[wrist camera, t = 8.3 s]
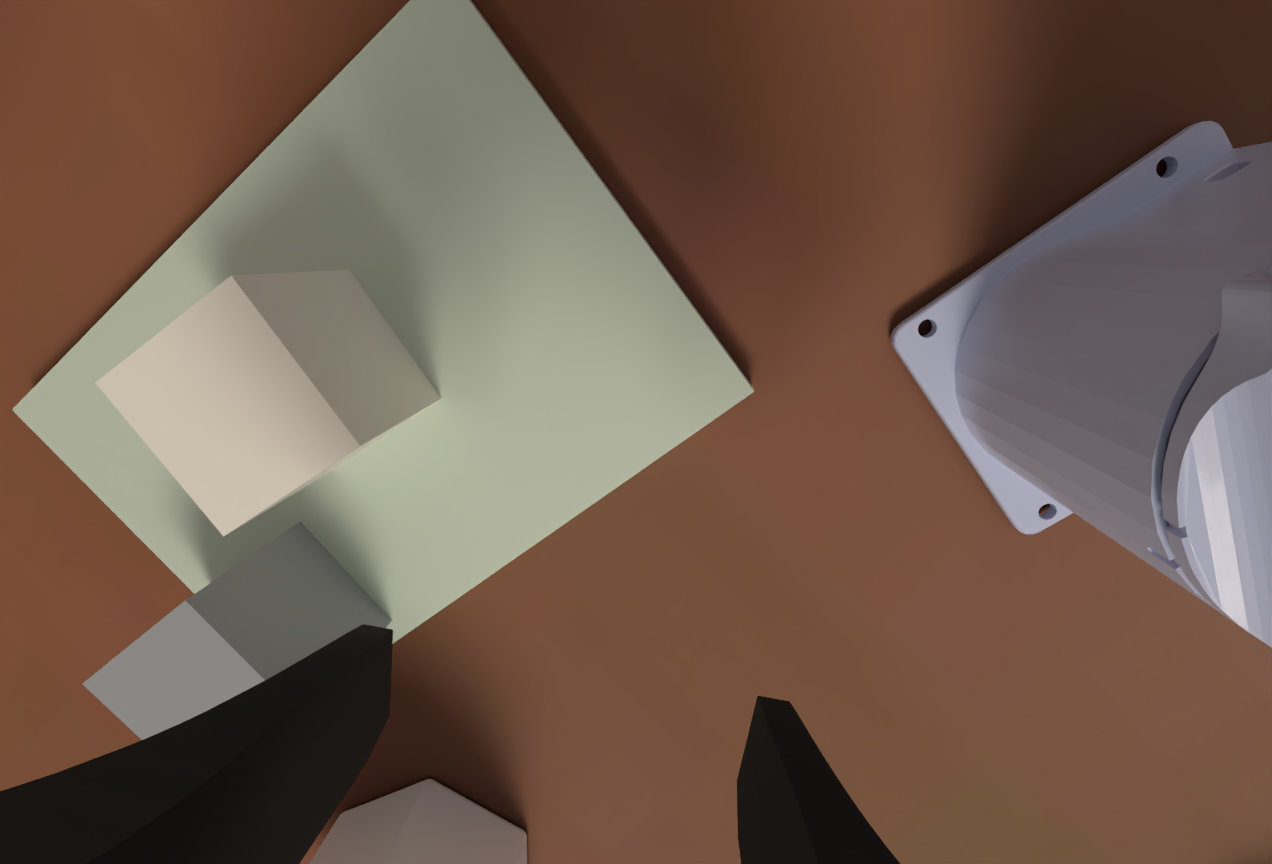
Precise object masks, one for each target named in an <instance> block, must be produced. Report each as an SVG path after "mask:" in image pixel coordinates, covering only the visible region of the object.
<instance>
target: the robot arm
mask: <svg viewBox="0 0 1272 864" xmlns="http://www.w3.org/2000/svg"><path fill="white" fill-rule="evenodd" d="M1161 159H1163V160H1164V161H1165V162H1166V165H1167V169H1166V172H1165V174H1164V175H1163V176H1162V177H1160V176H1159V175H1157V172H1156V167H1157V164H1158V162H1159V161H1160V160H1161ZM927 319H929V320H930V321H931V324H932V328H931V331H930V332H929V333H928V334H927V335H924V336H921V335H919V332H918V327H919V324H920V323H921V322H922V321H924V320H927ZM891 344H892V346H893V348H894V350H895V351H896V353H897V354H898V356H899V357H900V359H901V360H902V362H903V363H904V365H905V366H906V368H907V369H908V371H909V372H910V373H911V375H912V376H913V378H914V379H915V381H916V382H917V384H918V385H919V387H920V388H921V390H922V391H923V393H924V394H925V396H926V397H927V399H928V400H929V402H930V403H931V405H932V406H933V408H934V409H935V411H936V412H937V414H938V415H939V417H940V418H941V420H942V421H943V423H944V424H945V426H946V427H947V429H948V430H949V432H950V433H951V435H952V436H953V438H954V439H955V440H956V442H957V443H958V445H959V446H960V448H961V449H962V451H963V452H964V454H965V455H966V457H967V458H968V460H969V461H970V463H971V464H972V466H973V467H974V469H975V470H976V472H977V473H978V475H979V476H980V478H981V479H982V481H983V482H984V484H985V485H986V487H987V488H988V490H989V491H990V493H991V494H992V496H993V497H994V499H995V500H996V502H997V503H998V504H999V506H1000V507H1001V509H1002V510H1003V512H1004V513H1005V515H1006V516H1007V518H1008V519H1009V521H1010V522H1011V524H1012V525H1013V526H1014V527H1015V528H1016V529H1018V530H1019V531H1020V532H1021V533H1024V534H1035V533H1038V532H1040V531H1042V530H1044V529H1045V528H1047V527H1049V526H1051V525H1053V524H1054V523H1056V522H1058V521H1060V520H1061V519H1063V518H1065V517H1067V516H1069V515H1070V514H1072V513H1075V514H1076V515H1078V516H1079V517H1080V518H1082V519H1083V520H1085V521H1086V522H1088V523H1089V524H1091V525H1092V526H1094V527H1095V528H1097V529H1098V530H1100V531H1101V532H1103V533H1104V534H1105V535H1107V536H1108V537H1110V538H1111V539H1113V540H1114V541H1116V542H1117V543H1119V544H1120V545H1122V546H1123V547H1125V548H1126V549H1128V550H1129V551H1130V552H1132V553H1133V554H1135V555H1136V556H1138V557H1139V558H1141V559H1142V560H1144V561H1145V562H1147V563H1148V564H1150V565H1151V566H1153V567H1154V568H1155V569H1157V570H1158V571H1160V572H1161V573H1163V574H1164V575H1166V576H1167V577H1169V578H1170V579H1172V580H1173V581H1175V582H1176V583H1177V584H1179V585H1180V586H1182V587H1183V588H1185V589H1186V590H1188V591H1189V592H1191V593H1192V594H1194V595H1195V596H1197V597H1198V598H1200V599H1201V600H1202V601H1204V602H1205V603H1207V604H1208V605H1210V606H1211V607H1213V608H1214V609H1216V610H1217V611H1219V612H1220V613H1222V614H1223V615H1224V616H1226V617H1227V618H1229V619H1230V620H1232V621H1233V622H1235V623H1236V624H1237V625H1239V626H1240V627H1242V628H1243V629H1245V630H1246V631H1248V632H1249V633H1251V634H1252V635H1254V636H1255V637H1257V638H1258V639H1260V640H1261V641H1263V642H1264V643H1266V644H1267V645H1269V646H1270V647H1271V648H1272V142H1267V143H1262V144H1256V145H1251V146H1246V147H1241V148H1235V149H1233V147H1232V145H1231V143H1230V141H1229V139H1228V137H1227V135H1226V133H1225V132H1224V130H1223V128H1222V127H1221V126H1220V125H1219V124H1218V123H1216V122H1213V121H1203V122H1199V123H1195V124H1193V125H1190V126H1188V127H1186V128H1185V129H1183V130H1182V131H1180V132H1179V133H1177V134H1176V135H1174V136H1173V137H1171V138H1170V139H1169V140H1167V141H1166V142H1164V143H1163V144H1161V145H1160V146H1158V147H1157V148H1155V149H1154V150H1152V151H1151V152H1150V153H1148V154H1147V155H1145V156H1144V157H1142V158H1141V159H1139V160H1138V161H1136V162H1135V163H1133V164H1132V165H1131V166H1129V167H1128V168H1126V169H1125V170H1123V171H1122V172H1120V173H1119V174H1117V175H1116V176H1114V177H1113V178H1112V179H1110V180H1109V181H1107V182H1106V183H1104V184H1103V185H1101V186H1100V187H1098V188H1097V189H1095V190H1094V191H1092V192H1091V193H1090V194H1088V195H1087V196H1085V197H1084V198H1082V199H1081V200H1079V201H1078V202H1076V203H1075V204H1073V205H1072V206H1071V207H1069V208H1068V209H1066V210H1065V211H1063V212H1062V213H1060V214H1059V215H1057V216H1056V217H1054V218H1053V219H1052V220H1050V221H1049V222H1047V223H1046V224H1044V225H1043V226H1041V227H1040V228H1038V229H1037V230H1035V231H1034V232H1033V233H1031V234H1030V235H1028V236H1027V237H1025V238H1024V239H1022V240H1021V241H1019V242H1018V243H1016V244H1015V245H1013V246H1012V247H1011V248H1009V249H1008V250H1006V251H1005V252H1003V253H1002V254H1000V255H999V256H997V257H996V258H994V259H993V260H992V261H990V262H989V263H987V264H986V265H984V266H983V267H981V268H980V269H978V270H977V271H975V272H974V273H973V274H971V275H970V276H968V277H967V278H965V279H964V280H962V281H961V282H959V283H958V284H956V285H955V286H954V287H952V288H951V289H949V290H948V291H946V292H945V293H943V294H942V295H940V296H939V297H937V298H936V299H935V300H933V301H932V302H930V303H929V304H927V305H926V306H924V307H923V308H921V309H920V310H918V311H917V312H915V313H914V314H913V315H911V316H910V317H908V318H907V319H905V320H904V321H902V322H901V323H899V324H898V325H897V326H896V327H895V328H894V330H893V332H892V334H891ZM1045 504H1049V505H1050V507H1049V510H1048V511H1047V512H1046V513H1044V514H1041V515H1040V514H1039V513H1038V512H1039V509H1040V508H1041V507H1042V506H1043V505H1045ZM392 642H393V629H387V628H382V627H376V626H371V625H365V624H362V625H360V626H359V627H357V628H355V629H353V630H351V631H350V632H348V633H346V634H344V635H343V636H341V637H339V638H337V639H336V640H334V641H332V642H331V643H329V644H327V645H326V646H324V647H322V648H321V649H319V650H317V651H315V652H314V653H312V654H310V655H309V656H307V657H305V658H303V659H302V660H300V661H298V662H296V663H295V664H293V665H291V666H289V667H288V668H286V669H284V670H282V671H281V672H279V673H277V674H276V675H274V676H272V677H270V678H269V679H267V680H265V681H263V682H261V683H259V684H257V685H255V686H254V687H252V688H250V689H248V690H246V691H244V692H242V693H240V694H238V695H236V696H234V697H232V698H231V699H229V700H227V701H225V702H223V703H221V704H219V705H217V706H215V707H213V708H211V709H210V710H208V711H205V712H203V713H201V714H199V715H197V716H195V717H193V718H191V719H189V720H187V721H184V722H182V723H180V724H178V725H176V726H174V727H171V728H169V729H167V730H164V731H162V732H160V733H158V734H155V735H153V736H151V737H148V738H146V739H144V740H141V741H139V742H137V743H134V744H132V745H129V746H127V747H124V748H122V749H119V750H116V751H114V752H111V753H108V754H106V755H103V756H100V757H98V758H95V759H92V760H90V761H87V762H84V763H82V764H79V765H76V766H74V767H71V768H68V769H66V770H63V771H61V772H58V773H55V774H52V775H49V776H46V777H43V778H40V779H37V780H34V781H31V782H28V783H25V784H22V785H19V786H16V787H13V788H10V789H6V790H3V791H0V864H299V863H300V862H301V860H302V859H303V857H304V856H305V854H306V853H307V851H308V850H309V848H310V847H311V845H312V844H313V842H314V841H315V839H316V838H317V836H318V835H319V833H320V832H321V830H322V829H323V827H324V826H325V824H326V823H327V821H328V820H329V818H330V817H331V815H332V814H333V812H334V811H335V809H336V808H337V806H338V805H339V803H340V802H341V800H342V799H343V797H344V796H345V794H346V793H347V791H348V790H349V788H350V787H351V785H352V783H353V782H354V780H355V779H356V777H357V776H358V774H359V773H360V771H361V770H362V768H363V766H364V765H365V763H366V761H367V759H368V757H369V755H370V753H371V751H372V749H373V748H374V746H375V744H376V742H377V740H378V738H379V736H380V734H381V732H382V730H383V728H384V725H385V723H386V721H387V719H388V717H389V715H390V691H391V666H392ZM737 812H738V840H739V848H740V857H741V864H900V863H899V862H898V861H897V859H896V858H895V857H894V856H893V854H892V853H891V852H890V851H889V849H888V848H887V847H886V846H885V844H884V843H883V842H882V840H881V839H880V838H879V836H878V835H877V834H876V832H875V831H874V830H873V828H872V827H871V826H870V824H869V823H868V822H867V820H866V819H865V818H864V816H863V815H862V813H861V812H860V810H859V809H858V808H857V806H856V805H855V803H854V802H853V800H852V799H851V797H850V796H849V794H848V793H847V792H846V790H845V789H844V787H843V786H842V784H841V783H840V781H839V780H838V778H837V777H836V775H835V774H834V772H833V771H832V769H831V767H830V766H829V764H828V763H827V761H826V760H825V758H824V756H823V755H822V753H821V752H820V750H819V748H818V747H817V745H816V744H815V742H814V740H813V739H812V737H811V735H810V734H809V732H808V731H807V729H806V727H805V726H804V724H803V722H802V721H801V719H800V717H799V716H798V714H797V712H796V711H795V709H794V707H793V706H792V705H791V703H790V702H789V701H783V700H778V699H772V698H767V697H761V696H758V697H757V701H756V705H755V709H754V713H753V717H752V722H751V726H750V730H749V734H748V738H747V742H746V746H745V750H744V754H743V759H742V763H741V767H740V771H739V775H738V779H737Z"/></svg>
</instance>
